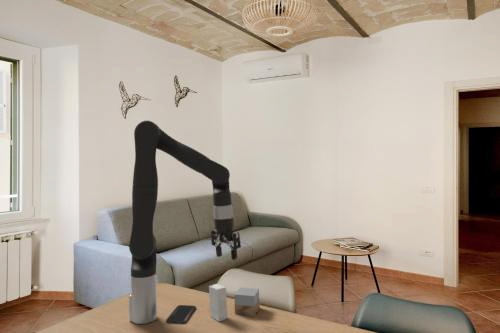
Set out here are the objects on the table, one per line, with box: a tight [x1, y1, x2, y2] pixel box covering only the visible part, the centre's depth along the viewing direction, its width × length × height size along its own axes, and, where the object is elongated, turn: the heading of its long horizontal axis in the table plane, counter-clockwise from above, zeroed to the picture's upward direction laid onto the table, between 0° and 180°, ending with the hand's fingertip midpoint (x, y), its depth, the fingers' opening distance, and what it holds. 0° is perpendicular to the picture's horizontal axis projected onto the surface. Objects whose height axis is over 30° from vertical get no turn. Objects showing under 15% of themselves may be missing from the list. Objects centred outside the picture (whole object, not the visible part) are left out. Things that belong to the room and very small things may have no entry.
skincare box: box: [208, 283, 228, 322], centre depth 139 cm, size 6×4×12 cm
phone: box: [165, 304, 197, 325], centre depth 142 cm, size 8×1×15 cm
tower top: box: [234, 287, 260, 306], centre depth 145 cm, size 8×8×4 cm
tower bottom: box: [234, 299, 261, 317], centre depth 145 cm, size 8×8×4 cm
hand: (226, 257), depth 142 cm, fingers open, 8 cm apart
